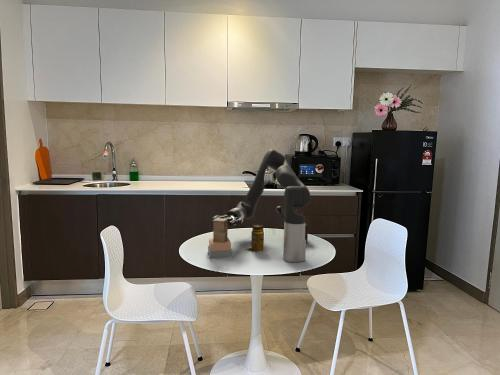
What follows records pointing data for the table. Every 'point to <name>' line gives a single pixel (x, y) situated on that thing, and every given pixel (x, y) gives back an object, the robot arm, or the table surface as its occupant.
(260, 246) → the condiment
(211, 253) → the tower bottom
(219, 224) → the tall block
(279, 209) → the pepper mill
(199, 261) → the table surface
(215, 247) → the tower top
